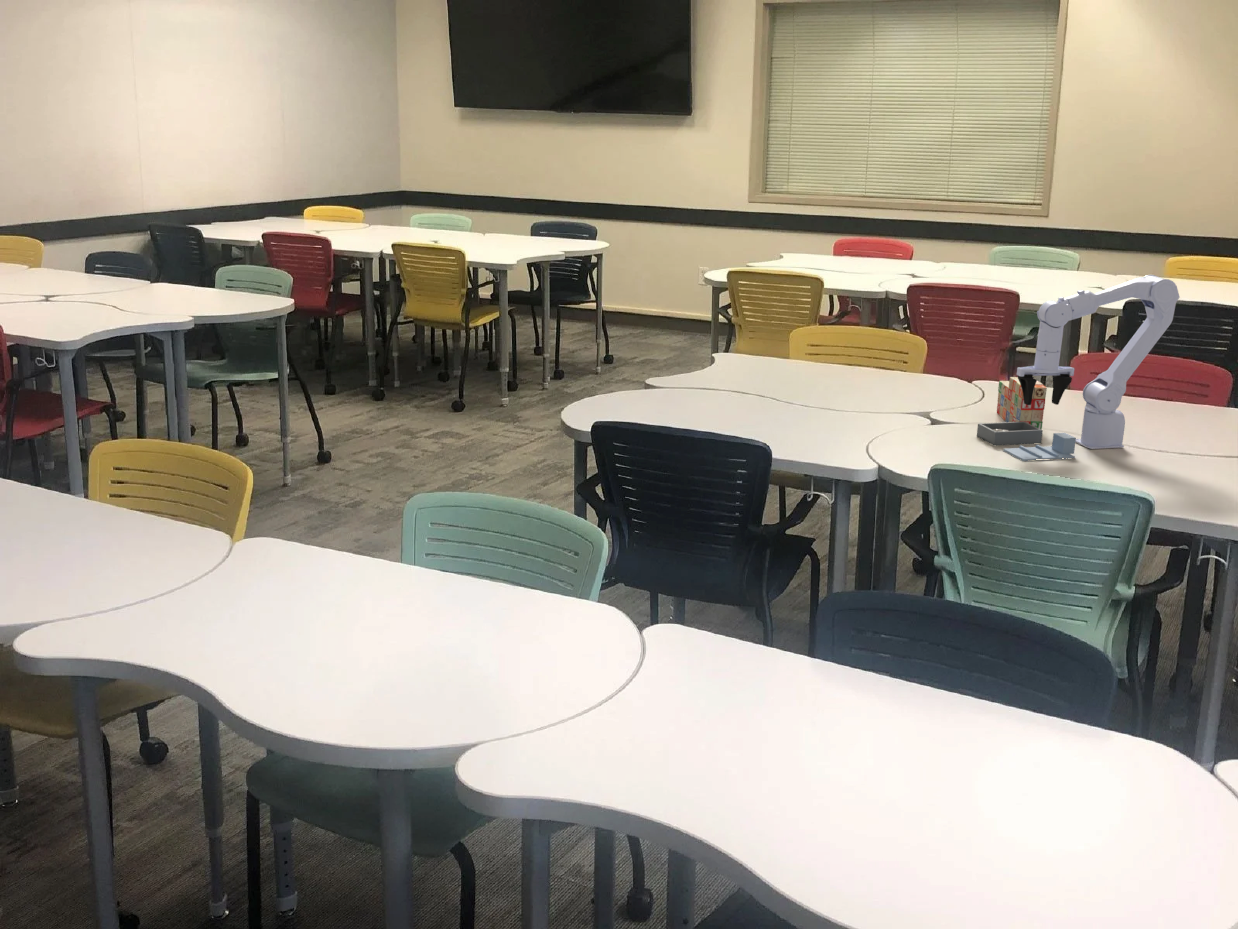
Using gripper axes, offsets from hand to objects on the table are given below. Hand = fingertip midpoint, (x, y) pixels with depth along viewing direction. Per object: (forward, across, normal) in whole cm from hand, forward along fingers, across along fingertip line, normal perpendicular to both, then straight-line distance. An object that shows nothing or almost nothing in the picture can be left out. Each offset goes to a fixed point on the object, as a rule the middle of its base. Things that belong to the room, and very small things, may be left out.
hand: (1041, 404), depth 299 cm
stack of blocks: (+11, -8, -22) cm, 26 cm away
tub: (+10, +5, -5) cm, 13 cm away
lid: (+11, +4, +9) cm, 15 cm away
